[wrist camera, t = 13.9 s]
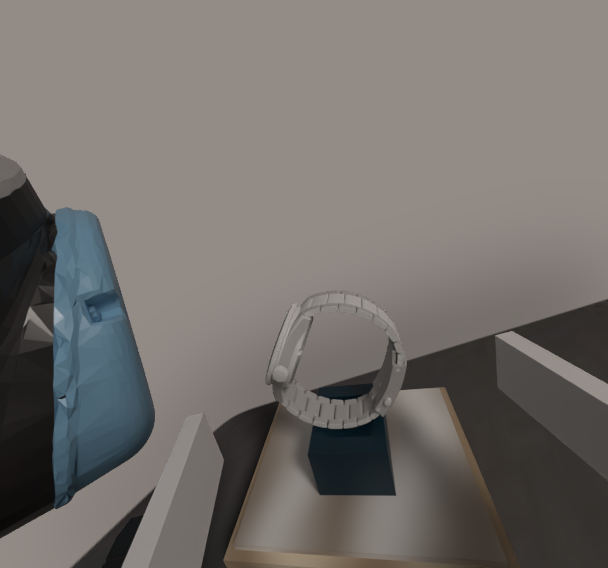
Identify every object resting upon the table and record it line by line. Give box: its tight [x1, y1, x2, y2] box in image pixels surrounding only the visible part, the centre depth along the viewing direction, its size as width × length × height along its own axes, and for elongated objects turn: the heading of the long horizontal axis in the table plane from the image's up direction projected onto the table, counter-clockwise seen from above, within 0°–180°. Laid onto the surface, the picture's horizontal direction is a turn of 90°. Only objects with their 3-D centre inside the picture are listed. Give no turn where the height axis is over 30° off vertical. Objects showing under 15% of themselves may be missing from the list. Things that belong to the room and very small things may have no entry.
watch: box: [266, 291, 407, 496], centre depth 17 cm, size 6×8×11 cm
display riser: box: [223, 387, 520, 568], centre depth 19 cm, size 14×12×4 cm
